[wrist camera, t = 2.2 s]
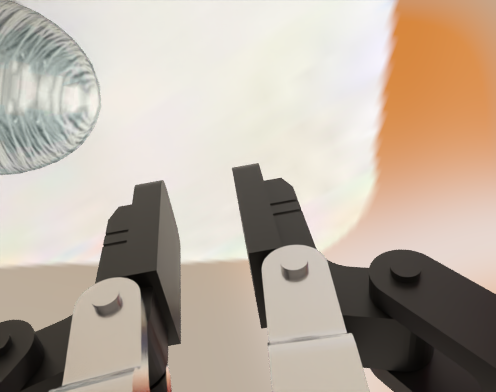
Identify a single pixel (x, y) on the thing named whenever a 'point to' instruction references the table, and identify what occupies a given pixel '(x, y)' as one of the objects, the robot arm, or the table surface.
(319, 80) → the table surface
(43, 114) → the spool
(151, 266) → the robot arm
